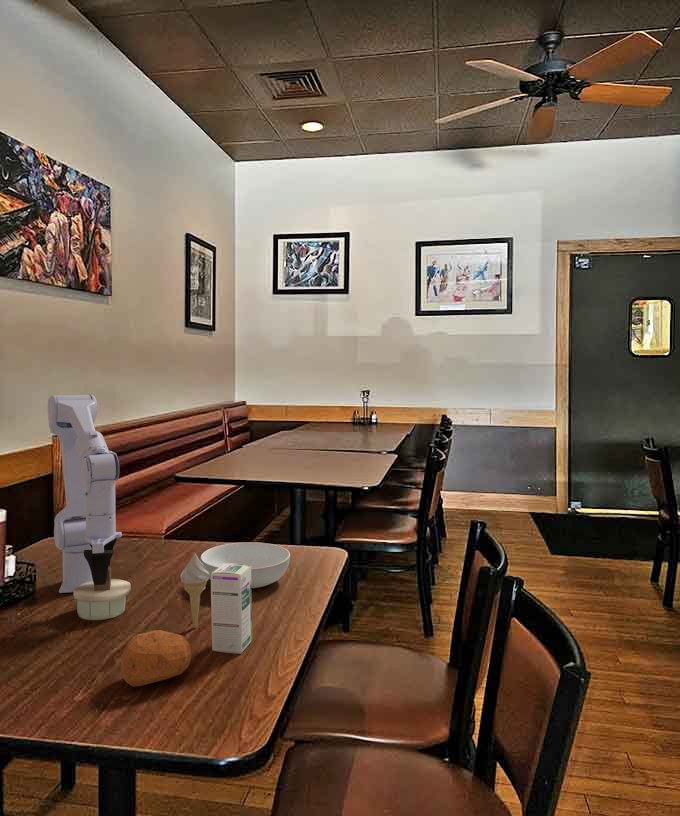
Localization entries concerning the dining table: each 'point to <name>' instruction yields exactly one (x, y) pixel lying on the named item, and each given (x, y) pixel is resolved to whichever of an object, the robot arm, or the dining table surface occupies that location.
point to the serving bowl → (250, 560)
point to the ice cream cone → (194, 583)
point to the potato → (155, 657)
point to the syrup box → (231, 608)
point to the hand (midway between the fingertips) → (101, 578)
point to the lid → (102, 590)
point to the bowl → (100, 609)
